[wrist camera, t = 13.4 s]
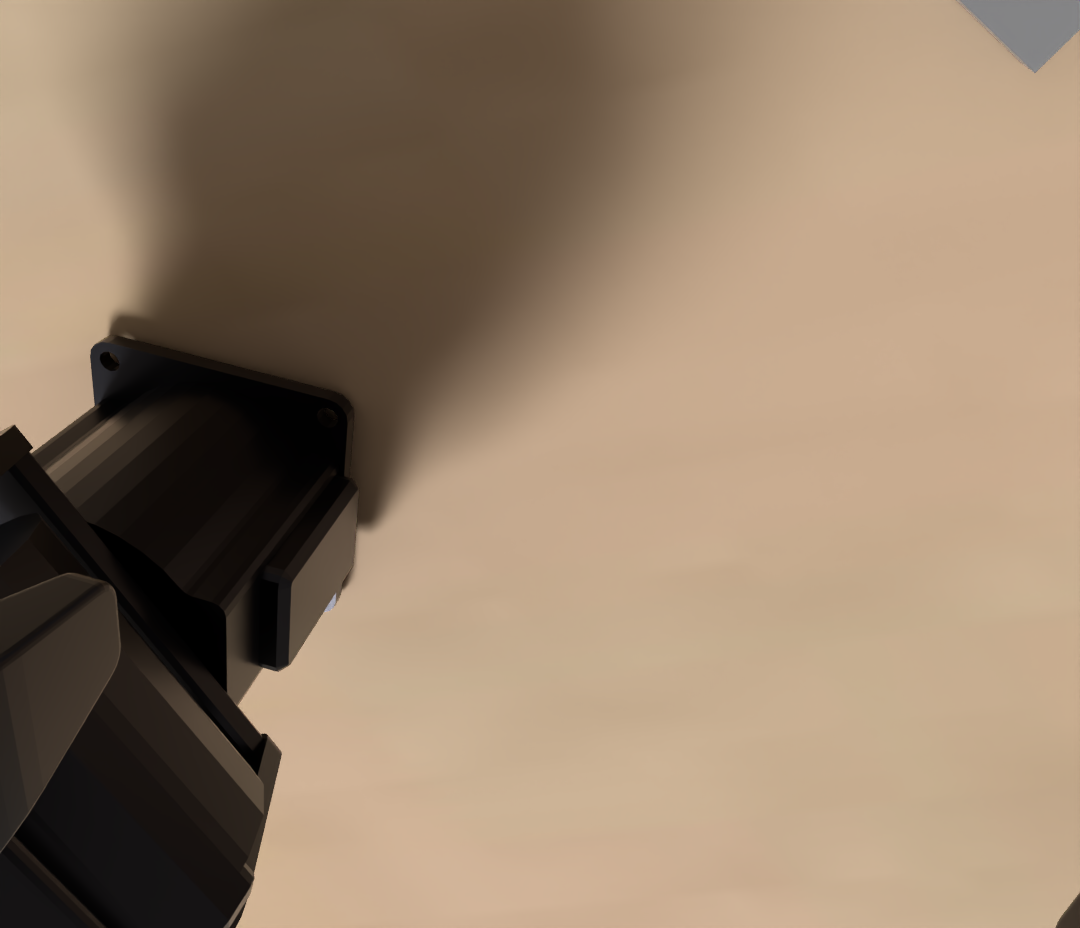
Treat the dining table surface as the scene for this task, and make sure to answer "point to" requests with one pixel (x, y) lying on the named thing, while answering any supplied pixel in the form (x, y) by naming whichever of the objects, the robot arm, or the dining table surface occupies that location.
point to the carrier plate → (1028, 26)
